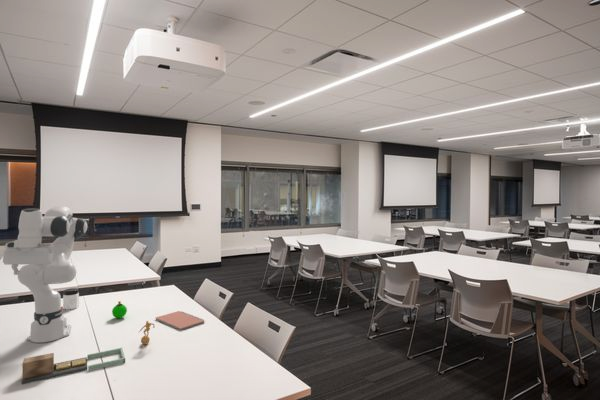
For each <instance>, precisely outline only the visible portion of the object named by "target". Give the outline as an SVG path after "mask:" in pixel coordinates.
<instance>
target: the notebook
mask: <svg viewBox="0 0 600 400" xmlns="http://www.w3.org/2000/svg"><path fill="white" fill-rule="evenodd" d="M155 320H156V321H158V322H160V323H163V324H165V325H166V326H167V325H168V326H169V327H172V328H174V329H176V330H178V331H183V330H186V329H190V328H192V327H195V326H198V325H201V324H204V323H205V320H204V319H203V318H201V317H199V316H195V315H193V314H190V313H187V312H186V311H183V310H182V311H181V310H177V311H174V312H170V313H167V314H164V315H159V316H155Z"/></svg>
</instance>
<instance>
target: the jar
mask: <svg viewBox="0 0 600 400" xmlns="http://www.w3.org/2000/svg"><path fill="white" fill-rule="evenodd" d="M62 304H63V305H62V307H63V310H65V309H66V310H65V311H70V309H71V310H76V309H78V308H79V307H80V293H79V288H77V287H75V288H72V287H71V288H66V289H64V290H63V295H62ZM75 308H76V309H75Z"/></svg>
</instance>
